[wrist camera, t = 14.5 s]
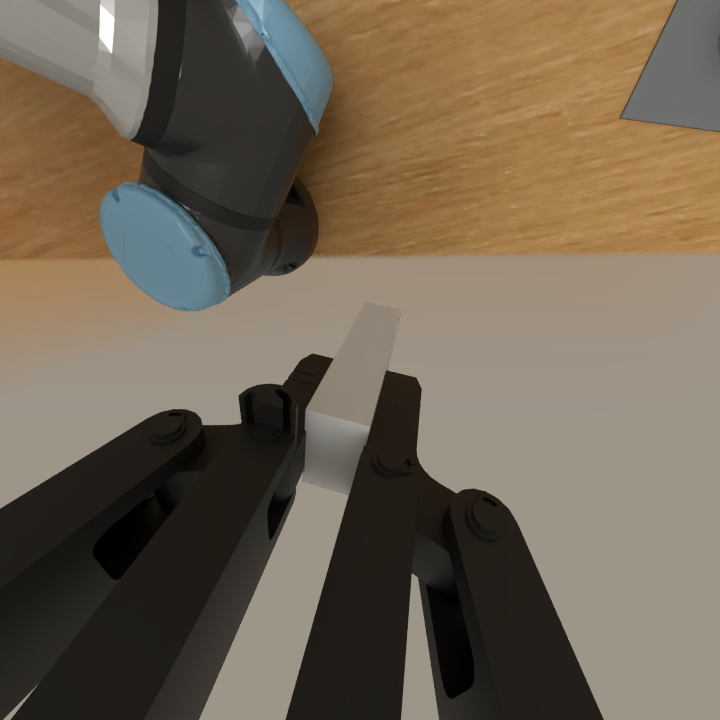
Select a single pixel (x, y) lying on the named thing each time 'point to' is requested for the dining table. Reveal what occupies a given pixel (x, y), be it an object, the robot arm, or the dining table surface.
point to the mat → (682, 71)
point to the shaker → (719, 44)
